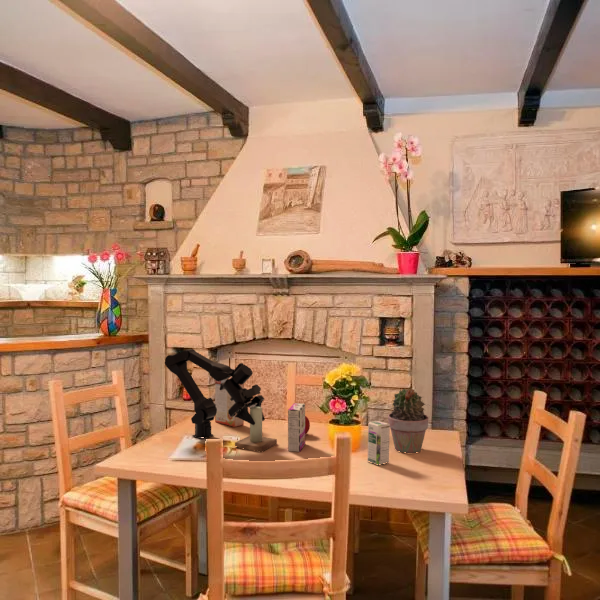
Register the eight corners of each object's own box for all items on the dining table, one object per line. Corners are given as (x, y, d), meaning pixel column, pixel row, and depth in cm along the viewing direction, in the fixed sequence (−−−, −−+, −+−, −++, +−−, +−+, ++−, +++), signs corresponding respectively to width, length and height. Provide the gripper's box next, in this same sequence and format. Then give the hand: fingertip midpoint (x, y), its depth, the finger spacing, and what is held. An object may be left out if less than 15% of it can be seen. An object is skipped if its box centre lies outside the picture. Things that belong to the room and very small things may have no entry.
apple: (313, 434, 236) (314, 410, 236) (302, 439, 229) (302, 415, 228) (295, 430, 241) (295, 408, 241) (284, 435, 234) (284, 412, 233)
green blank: (248, 442, 217) (248, 409, 216) (251, 438, 222) (251, 406, 221) (260, 442, 216) (260, 410, 215) (263, 439, 221) (263, 406, 220)
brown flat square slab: (235, 447, 216) (235, 442, 216) (251, 439, 227) (251, 435, 227) (261, 452, 211) (261, 447, 211) (276, 443, 222) (276, 439, 221)
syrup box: (366, 462, 200) (367, 422, 200) (378, 459, 204) (378, 420, 203) (378, 466, 196) (378, 425, 195) (389, 463, 199) (390, 423, 199)
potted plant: (413, 440, 228) (414, 380, 227) (440, 454, 210) (441, 389, 209) (374, 444, 222) (375, 382, 221) (399, 459, 204) (400, 392, 203)
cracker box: (244, 425, 250) (244, 379, 249) (234, 427, 245) (234, 380, 245) (224, 419, 259) (224, 375, 259) (214, 421, 255) (214, 376, 254)
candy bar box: (293, 443, 223) (293, 402, 222) (305, 444, 222) (305, 403, 221) (287, 451, 212) (287, 409, 211) (299, 452, 211) (300, 409, 210)
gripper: (234, 382, 211) (259, 414, 207) (260, 375, 228) (283, 405, 223) (217, 400, 215) (241, 432, 211) (244, 392, 232) (266, 421, 227)
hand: (259, 422), depth 218 cm, fingers open, 7 cm apart
